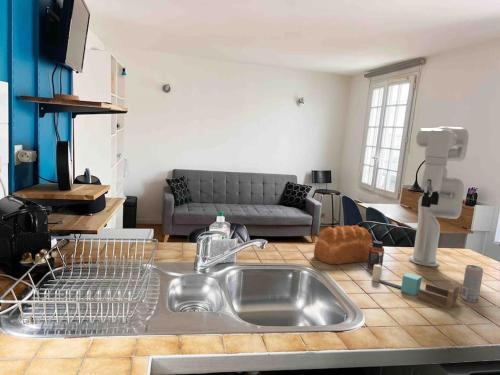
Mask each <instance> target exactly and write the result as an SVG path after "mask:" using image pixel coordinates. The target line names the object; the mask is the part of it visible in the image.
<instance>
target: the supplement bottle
mask: <svg viewBox="0 0 500 375" xmlns="http://www.w3.org/2000/svg"><path fill="white" fill-rule="evenodd" d="M372 244H373V245H372V246H370V250H369V258H368V261H367V267H368V268H370V269H372V270H373V268H374V265H381V266H382V267H383V263H384V257H385V256H384V255H385V248H384V246H383V245H384V243H383V242H382V241H380V240H372Z"/></svg>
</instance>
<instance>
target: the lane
mask: <svg viewBox="0 0 500 375" xmlns="http://www.w3.org/2000/svg"><path fill="white" fill-rule="evenodd" d="M459 287H460V285H457V284H454V285H453V286H452V287H451V288H450V289H448V288H445V287H441V286H438V285H434V284H431V283H428V282H427V283H426V284H425V288H424V289H422V288H420V289H419V293H418V294H417V300H420V301H423V302H426V303H428V304H432V305H434V306H438V307H441V308H444V309H447V310H451V308H453V306H454V305H455V304H456V303H457V299H458V293H459Z"/></svg>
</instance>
